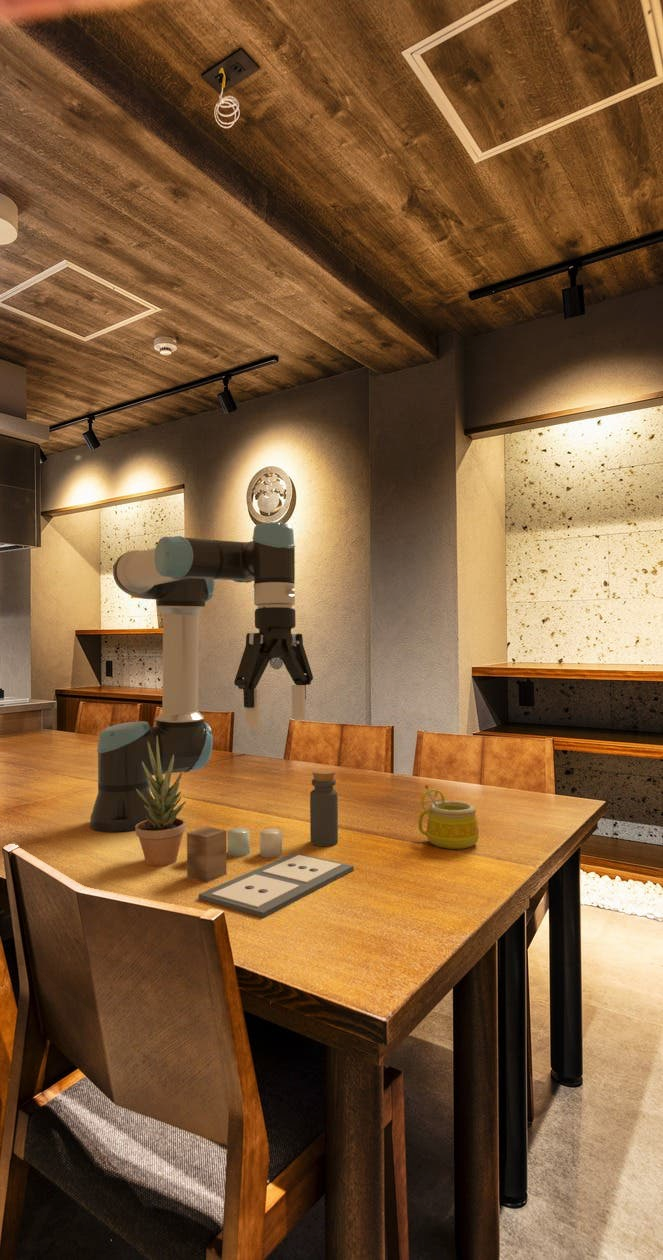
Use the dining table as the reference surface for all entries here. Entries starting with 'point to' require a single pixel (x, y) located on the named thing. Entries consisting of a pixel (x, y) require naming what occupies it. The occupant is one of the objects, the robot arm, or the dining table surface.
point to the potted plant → (161, 816)
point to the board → (276, 884)
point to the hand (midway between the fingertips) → (276, 722)
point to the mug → (449, 822)
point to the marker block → (206, 854)
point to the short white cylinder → (270, 843)
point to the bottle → (323, 809)
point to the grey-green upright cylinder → (238, 842)
